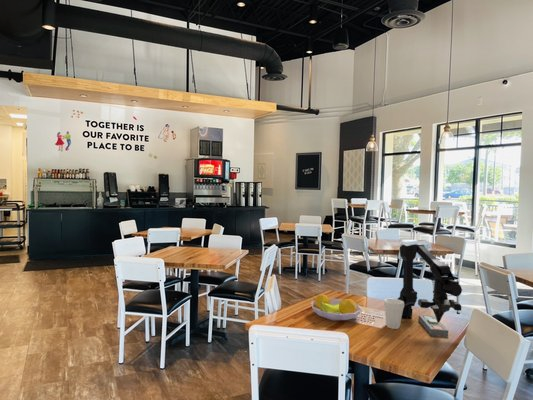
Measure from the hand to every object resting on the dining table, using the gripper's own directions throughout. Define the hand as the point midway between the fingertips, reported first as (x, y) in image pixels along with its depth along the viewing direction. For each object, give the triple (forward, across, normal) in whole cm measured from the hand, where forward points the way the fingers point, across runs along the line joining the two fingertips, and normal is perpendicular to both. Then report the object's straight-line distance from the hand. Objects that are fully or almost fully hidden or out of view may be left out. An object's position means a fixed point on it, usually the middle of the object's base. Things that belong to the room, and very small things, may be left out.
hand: (438, 322), depth 186 cm
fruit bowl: (+6, -49, +13) cm, 51 cm away
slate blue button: (+5, 0, +14) cm, 15 cm away
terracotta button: (+5, 0, 0) cm, 5 cm away
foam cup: (+6, -20, +5) cm, 22 cm away
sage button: (+4, 0, +7) cm, 8 cm away
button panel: (+6, 0, +7) cm, 9 cm away
